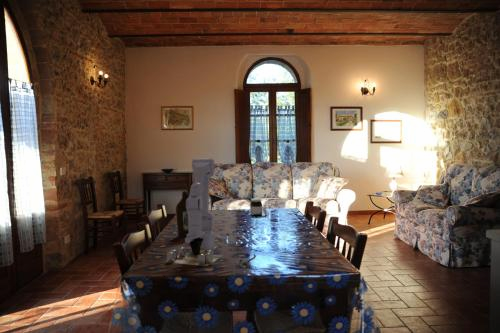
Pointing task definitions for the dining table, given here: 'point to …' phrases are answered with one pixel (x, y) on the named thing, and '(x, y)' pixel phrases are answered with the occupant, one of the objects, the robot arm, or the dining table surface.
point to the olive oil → (182, 216)
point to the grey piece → (172, 256)
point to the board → (193, 259)
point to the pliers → (246, 262)
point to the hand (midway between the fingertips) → (196, 255)
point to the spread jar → (257, 207)
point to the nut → (201, 251)
